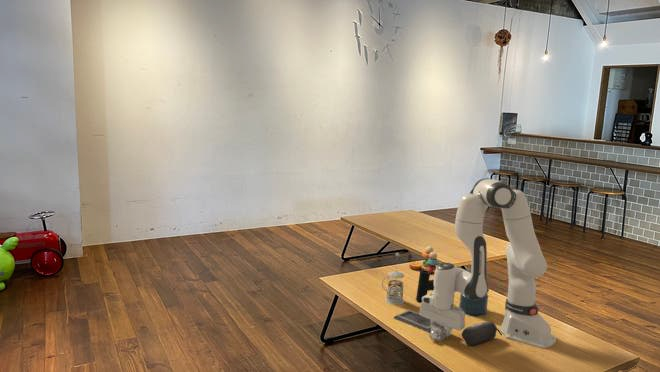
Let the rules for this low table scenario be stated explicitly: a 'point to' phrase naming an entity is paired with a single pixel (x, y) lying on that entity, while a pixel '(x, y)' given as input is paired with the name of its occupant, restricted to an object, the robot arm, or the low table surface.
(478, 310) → the canister
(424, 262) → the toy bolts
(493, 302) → the low table surface
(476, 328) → the glasses case
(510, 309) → the robot arm
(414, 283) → the low table surface
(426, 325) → the plate
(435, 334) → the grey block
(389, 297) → the french press
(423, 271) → the pipe connector
